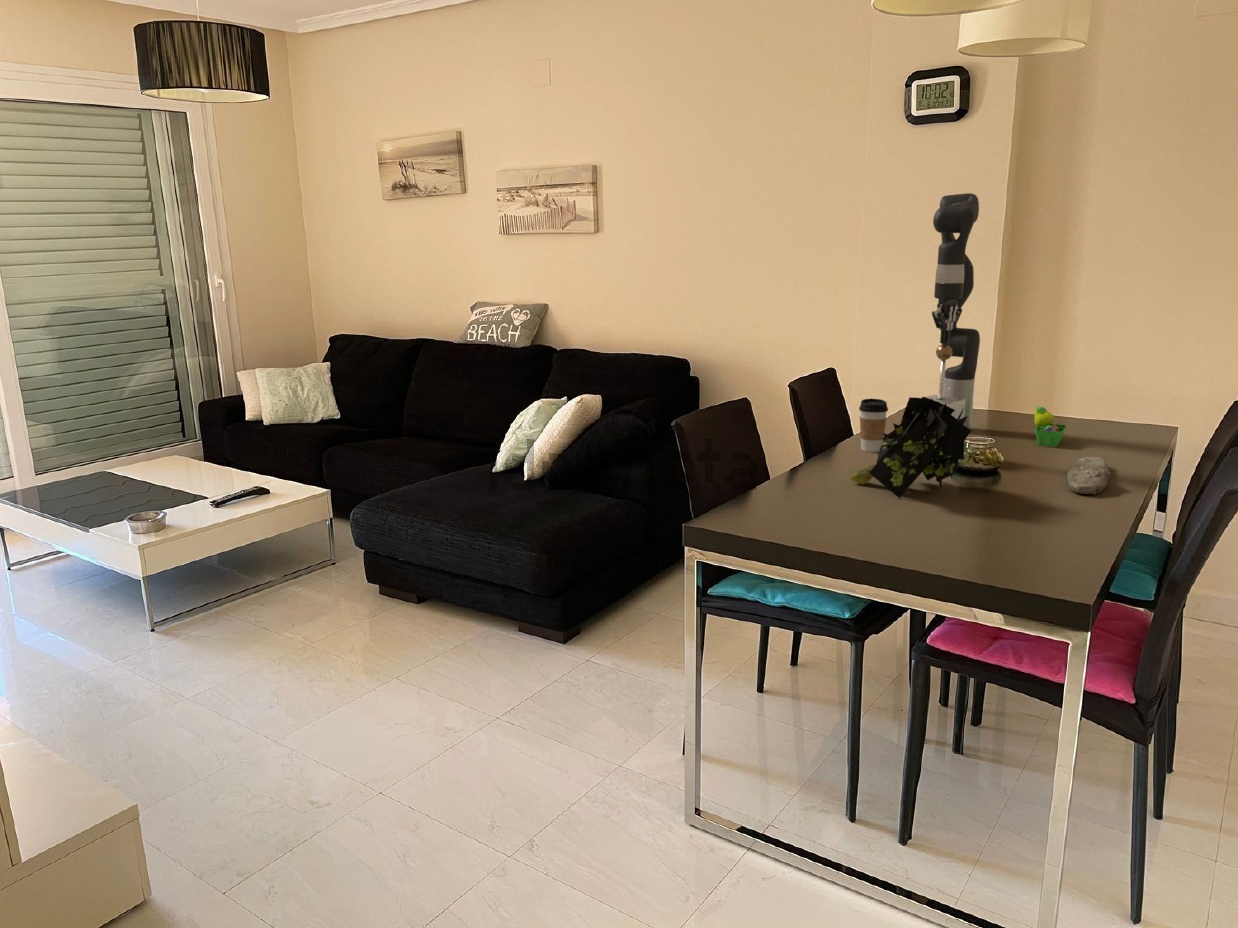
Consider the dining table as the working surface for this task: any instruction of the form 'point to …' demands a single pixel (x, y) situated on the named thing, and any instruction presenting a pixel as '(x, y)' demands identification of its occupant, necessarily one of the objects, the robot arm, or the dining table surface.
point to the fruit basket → (1047, 428)
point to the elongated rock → (1088, 475)
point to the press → (952, 404)
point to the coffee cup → (872, 423)
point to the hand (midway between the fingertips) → (944, 343)
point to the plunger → (943, 365)
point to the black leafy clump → (918, 447)
